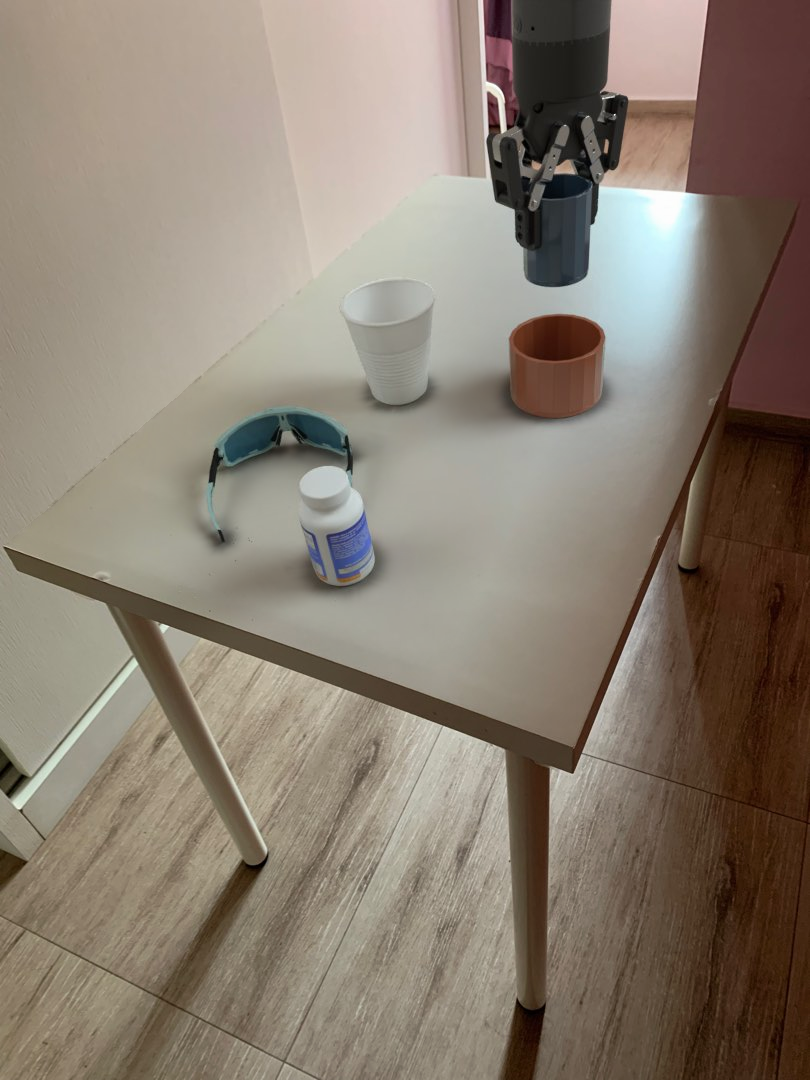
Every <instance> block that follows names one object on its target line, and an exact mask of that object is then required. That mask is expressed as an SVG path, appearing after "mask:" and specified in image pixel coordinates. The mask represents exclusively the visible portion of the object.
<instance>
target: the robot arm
mask: <svg viewBox="0 0 810 1080" xmlns="http://www.w3.org/2000/svg"><path fill="white" fill-rule="evenodd" d="M612 1H613V0H511V3H510V5H511V8H510V9H511V10H510V11H511V54H512V55H511V57H512V91H513V93H514V95H515V98H516V101H517V105H518V110H517V115H516V118H515V121H514V126H513V127H511V128H509V129H507V130H506V131H504V132H502V133H498V132H495V131H491V132H489V134H488V135H487V137H486V141H485V142H486V143H485V145H486V150H487V157H488V163H489V171H490V179H491V184H492V191H493V197H494V202H495V203H497V204H498V205H501V206H504V207H507V208H509V209H512V210H514V237H515V240H516V243H517V244H519V246H520V247H521V248H525V249H528V250H530V251H534V250H536V249H539V248H540V240H541V209H540V208H538V207H539V204H540V201H541V198H542V195H543V192H544V189H545V186H546V185H547V184H549V183H550V182H551V180H552V178H553V175H554V174H555V171H556V169H557V167H559V166H561V165H562V164H563V163H564V162H566V161H568V160H569V162H570V164H571V167H572V170H573V172H574V174H577V175H581V176H584V177H587V178H588V179H589V180H590V181H591V182H592V204H591V226H593V225H595V223H596V217H597V216H598V215H597V214H598V212H599V194H600V183H602V181H603V180H604V177H605V174H606V173H607V172H608V171H613V172H614V171H615V170H616V169H617V168H618V167H619V165H620V160H621V159H620V158H621V153H622V145H623V139H624V134H625V133H624V132H625V126H626V120H627V114H628V107H629V97H628V96H627V95H625V94H621V93H619V92H613V91H607V90H604V89H605V87H606V86H607V83H608V77H609V56H610V39H611V18H612ZM606 140H607V141H608V143H607V144H608V145H607V152H605V148H606V142H607V141H606ZM533 162H535V163H536V164H539V165H541V166H540V168H538V169H536V168H534V167H533V164H532V163H533ZM530 180H532V184H531V188H530V191H529V193H526V192H527V189H528V185H529V182H530Z"/></svg>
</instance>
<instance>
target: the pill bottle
mask: <svg viewBox="0 0 810 1080" xmlns="http://www.w3.org/2000/svg"><path fill="white" fill-rule="evenodd" d="M298 489H299V493H300V499H301V500H300V503H299V505H298V509H297V515H298V519H299V523H300V527H301V530H302V533H303V537H304V540H305V543H306V548H307V550H308V553H309V558H310V560H311V564H312V567H313V570H314V572H315V574H316V576H317V577H318V579H319V580H321V581H322V582H324V584H327V585H331V586H337V587H347V586H351V585H354V584H357V583H358V582H360V581H363V580H364V579H365V578H366V577H367V576H368V575H369V574H370V573H371V571H372V570H373V568H374V566H375V561H376V557H375V552H374V547H373V543H372V537H371V533H370V529H369V524H368V520H367V515H366V510H365V506H364V501H363V499H362V496H361V494H360V493H359V492H358V491H357V490H356V489H355V488H353V486H352V487H350V483H349V479H348V476H347V474H346V470H344V469H342V468H340V467H339V466H338V467H337V466H334V465H322V466H318V467H315V468H313V469H311V470H309V471H308V472H306V473H305V474H304V475H303V476H302V477H301V478H300V480H299V484H298Z"/></svg>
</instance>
